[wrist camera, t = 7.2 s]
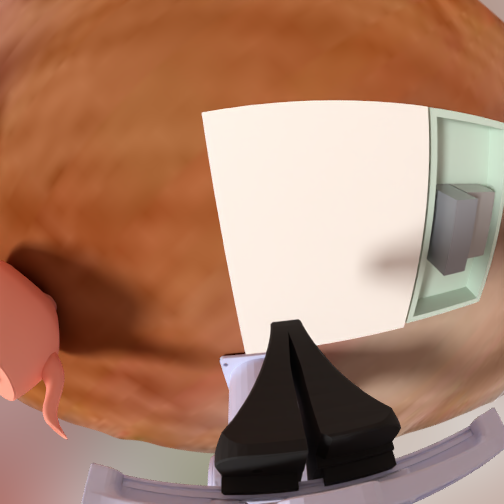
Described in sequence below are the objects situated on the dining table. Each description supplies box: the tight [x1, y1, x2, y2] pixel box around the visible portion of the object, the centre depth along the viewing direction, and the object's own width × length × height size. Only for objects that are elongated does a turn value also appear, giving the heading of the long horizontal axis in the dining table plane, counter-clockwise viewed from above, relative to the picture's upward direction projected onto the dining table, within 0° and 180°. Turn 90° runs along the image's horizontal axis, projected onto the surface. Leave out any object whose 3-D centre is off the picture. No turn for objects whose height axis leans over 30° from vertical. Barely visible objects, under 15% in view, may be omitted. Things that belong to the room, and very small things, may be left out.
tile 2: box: [427, 184, 478, 276], centre depth 18 cm, size 6×4×2 cm
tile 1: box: [449, 184, 495, 259], centre depth 18 cm, size 6×4×2 cm, turn 7°
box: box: [405, 107, 504, 323], centre depth 19 cm, size 18×10×3 cm, turn 7°
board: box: [202, 100, 429, 354], centre depth 19 cm, size 18×14×3 cm
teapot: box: [0, 261, 67, 439], centre depth 18 cm, size 13×20×12 cm, turn 54°
